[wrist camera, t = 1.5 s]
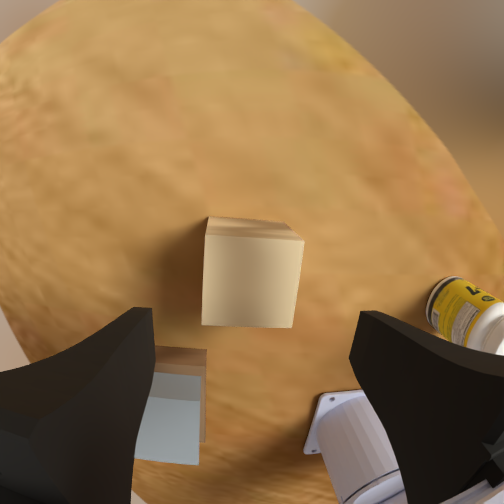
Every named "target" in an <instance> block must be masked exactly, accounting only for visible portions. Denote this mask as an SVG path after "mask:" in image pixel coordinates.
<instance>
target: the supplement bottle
mask: <svg viewBox="0 0 504 504" xmlns="http://www.w3.org/2000/svg"><path fill="white" fill-rule="evenodd" d="M426 317H427V320H428V322H429V324H430V325H431V326H432V327H433V328H434V329H436V330H437V331H438V332H439V333H440V334H441V335H443V336H444V337H445V338H446V339H447V340H448V341H449V342H452V343H454V344H457V345H461V346H464V347H467V348H470V349H474V350H478V351H482V352H487V353H492V354H497V355H503V356H504V302H502V301H500V300H499V299H497V298H495V297H493V296H492V295H490V294H489V293H487V292H485V291H483V290H482V289H480V288H478V287H476V286H475V285H473V284H471V283H469V282H468V281H466V280H464V279H462V278H460V277H457V276H451V277H447V278H445V279H444V280H442V281H441V282H440V283H439V284H438V285H437V286H436V287H435V288H434V290H433V291H432V293H431V295H430V297H429V300H428V303H427V307H426Z"/></svg>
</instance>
